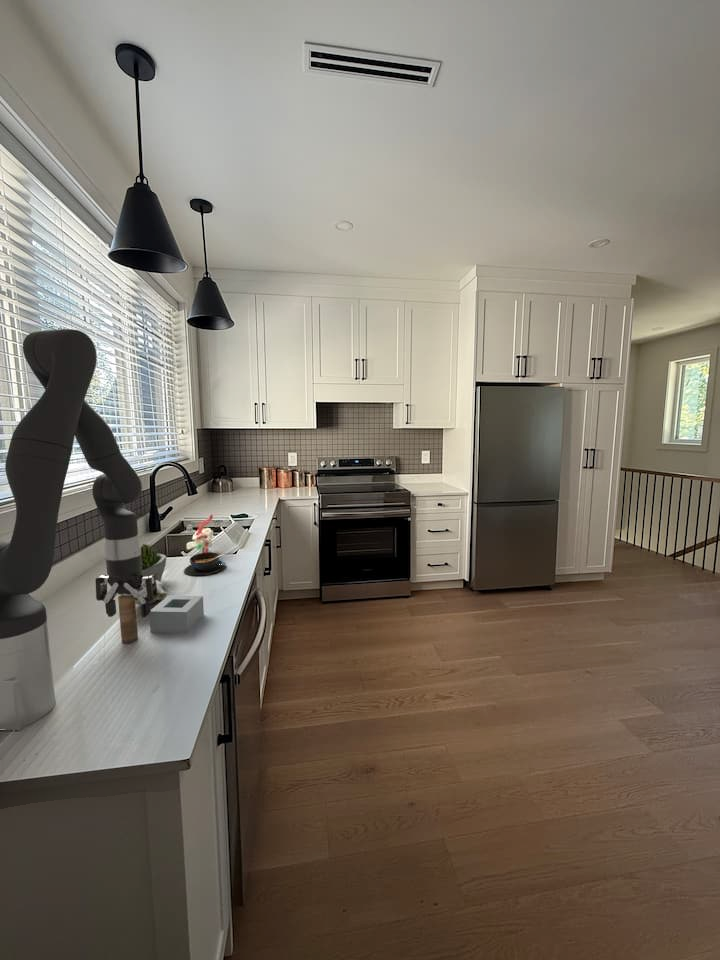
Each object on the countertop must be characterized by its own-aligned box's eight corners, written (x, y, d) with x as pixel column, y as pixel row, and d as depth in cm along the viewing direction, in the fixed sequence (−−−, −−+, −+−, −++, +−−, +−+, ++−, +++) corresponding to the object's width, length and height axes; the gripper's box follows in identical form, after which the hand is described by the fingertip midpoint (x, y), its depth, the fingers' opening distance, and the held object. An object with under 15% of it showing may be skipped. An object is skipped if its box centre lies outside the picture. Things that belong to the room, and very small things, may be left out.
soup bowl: (209, 561, 161) (208, 544, 160) (235, 568, 152) (235, 550, 151) (175, 572, 148) (174, 553, 147) (202, 581, 140) (201, 561, 139)
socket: (187, 633, 103) (186, 612, 103) (150, 633, 104) (148, 611, 103) (203, 615, 113) (202, 596, 112) (169, 615, 113) (168, 595, 113)
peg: (132, 644, 98) (129, 599, 96) (118, 644, 98) (114, 598, 96) (141, 637, 101) (137, 592, 100) (127, 637, 102) (124, 592, 100)
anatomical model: (187, 553, 170) (185, 513, 168) (213, 550, 174) (211, 511, 172) (187, 564, 156) (184, 520, 154) (215, 561, 161) (213, 518, 158)
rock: (159, 617, 112) (157, 584, 111) (117, 622, 109) (115, 588, 108) (172, 591, 130) (170, 562, 129) (136, 595, 127) (134, 565, 126)
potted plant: (123, 584, 136) (120, 542, 134) (163, 576, 144) (161, 536, 142) (127, 596, 127) (124, 551, 125) (170, 586, 134) (168, 544, 132)
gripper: (84, 558, 93) (90, 622, 96) (143, 559, 93) (148, 623, 95) (105, 548, 101) (111, 608, 103) (159, 549, 100) (164, 609, 103)
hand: (129, 615), depth 99 cm, fingers open, 8 cm apart
